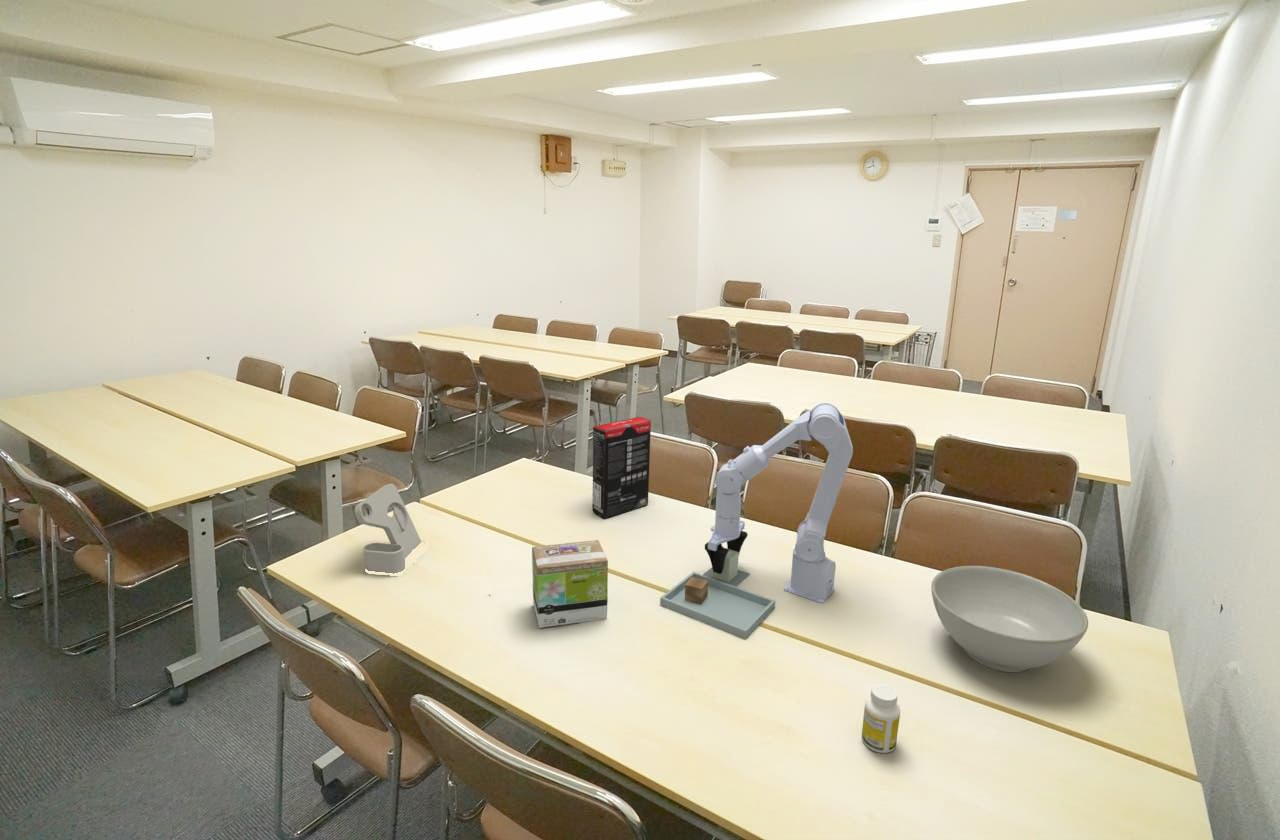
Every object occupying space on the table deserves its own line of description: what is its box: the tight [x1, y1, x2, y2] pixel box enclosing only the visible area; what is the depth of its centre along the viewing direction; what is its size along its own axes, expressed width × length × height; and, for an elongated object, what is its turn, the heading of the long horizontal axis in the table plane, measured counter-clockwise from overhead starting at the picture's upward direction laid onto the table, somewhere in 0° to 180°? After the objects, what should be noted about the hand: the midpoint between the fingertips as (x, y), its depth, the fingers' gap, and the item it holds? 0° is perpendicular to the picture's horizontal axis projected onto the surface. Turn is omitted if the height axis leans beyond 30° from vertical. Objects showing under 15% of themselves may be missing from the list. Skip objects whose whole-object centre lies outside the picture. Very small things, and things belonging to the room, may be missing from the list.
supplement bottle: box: [861, 683, 901, 754], centre depth 106 cm, size 5×5×10 cm
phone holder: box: [354, 483, 422, 574], centre depth 163 cm, size 17×10×18 cm, turn 171°
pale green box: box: [712, 546, 740, 582], centre depth 157 cm, size 4×4×6 cm
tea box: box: [531, 539, 609, 629], centre depth 141 cm, size 15×10×15 cm
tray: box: [659, 571, 776, 640], centre depth 145 cm, size 21×14×2 cm
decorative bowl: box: [930, 565, 1089, 673], centre depth 129 cm, size 27×27×12 cm
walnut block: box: [685, 577, 708, 605], centre depth 148 cm, size 4×4×4 cm
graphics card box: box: [592, 416, 652, 519], centre depth 192 cm, size 17×7×27 cm, turn 130°
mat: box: [702, 567, 751, 587], centre depth 158 cm, size 9×9×1 cm
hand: (725, 565), depth 157 cm, fingers open, 7 cm apart
